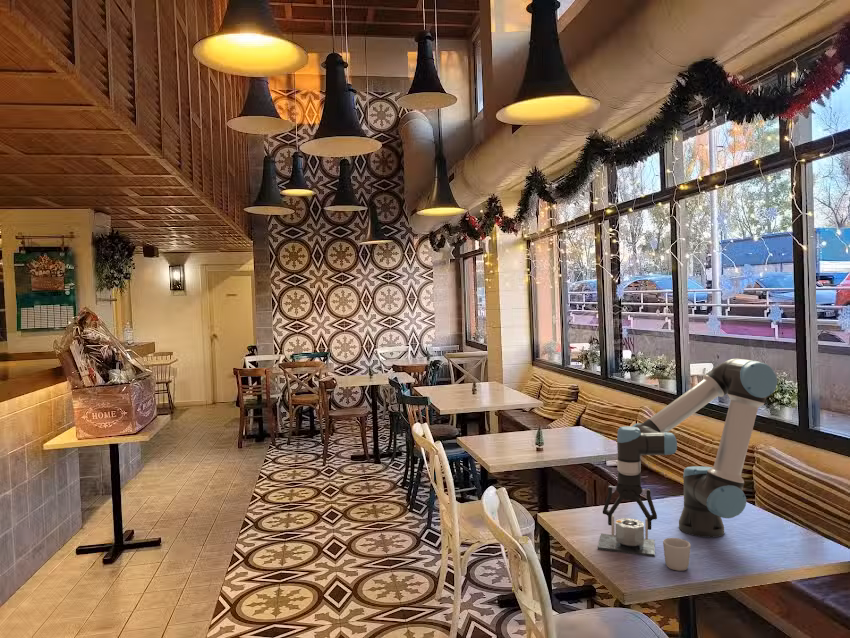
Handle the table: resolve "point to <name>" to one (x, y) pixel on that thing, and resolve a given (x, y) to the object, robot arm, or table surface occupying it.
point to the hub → (629, 532)
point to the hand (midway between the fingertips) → (629, 536)
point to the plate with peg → (611, 544)
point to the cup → (676, 553)
